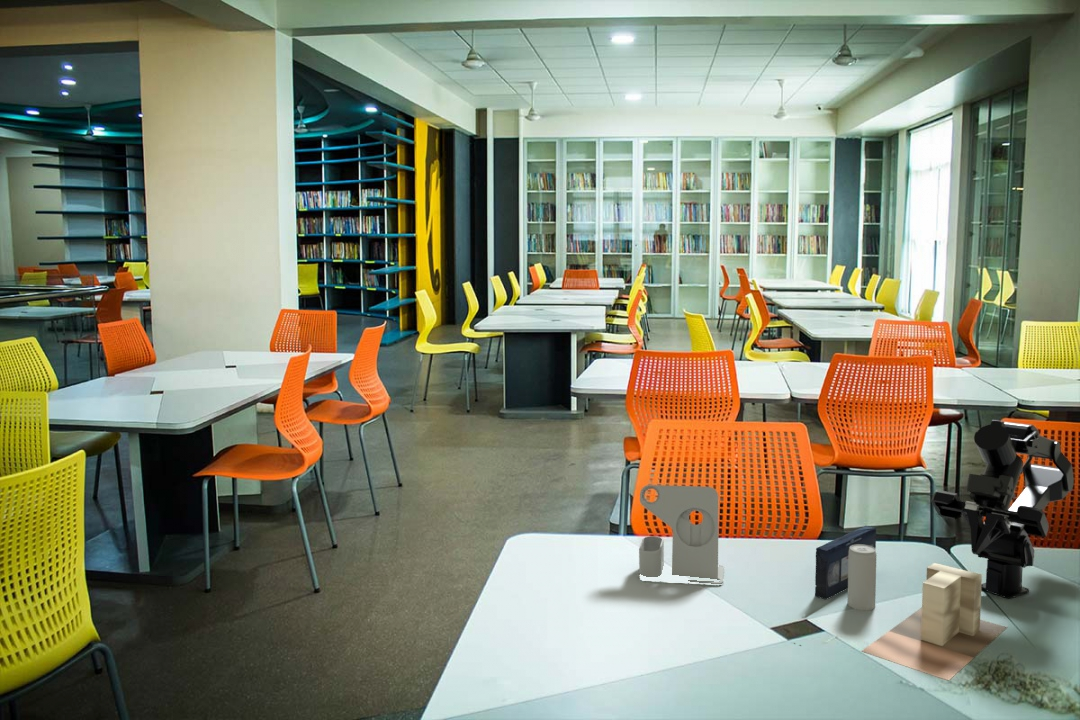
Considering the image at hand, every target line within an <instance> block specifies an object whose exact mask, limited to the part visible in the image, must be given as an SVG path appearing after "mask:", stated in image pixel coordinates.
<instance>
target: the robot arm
mask: <svg viewBox="0 0 1080 720" xmlns="http://www.w3.org/2000/svg"><path fill="white" fill-rule="evenodd" d="M973 440H974V443H975V446H976V449H977V451H978V452H979V455H980V456H981V459H982V461H983V462H984V463H985V464H986V466H985V469H984V471H983V474H974V473H969V474H968V478H967V483H966V487H965V488H966V489H965V491H966V492H969V498H970V500H972V501H968V500H965V501H962V500H961V498H960V496H959V494H958V493H957V492H956V493H955V492H952V491H951V492H950V491H945V490H937V491H935V492H934V493H933V494H932V496H931V500H930V501H931V504H932V506H933V508H934V510H935V511H936V513H937V515H938V516H940V517H941V518H946V519H950V520H958V519H960V518H962V516H963V518H964V519H965V522H966V524H967V526H969V528H970V529H969V530H970V545H971V553H972V554H973V555H976V556H977V557H978V558H982V559H986V562H987V563H986V569H985V570H986V572H985V582H983V583H982V584H981V590H984V591H988V592H990V593H992V594H995V595H998V596H1000V597H1004V598H1006V599H1013V598H1015V597H1019V596H1021V595H1023V594H1027V593H1030V588H1028V587H1025V586H1023V585H1022V584H1023V569H1025V568H1026V567H1033V566H1034V561H1035V560H1034V558H1035V549H1034V547H1033V544H1032V542H1031V539H1030V537H1029V536H1033V537H1039V538H1046V537H1047V536H1048V532H1049V525H1050V524H1049V522H1048V519H1047V517H1046V513H1045V511H1044V510H1045V508H1046V507H1047V505H1048V504H1049V503H1052V502H1057V501H1062V500H1064V499H1065V497H1067V496H1068V494H1069V493H1071V492H1072V491H1073V488H1074V483H1075V482H1074V481H1075V480H1074V478H1075V477H1074V470H1073V465H1072V462H1071V461H1070V460H1069V459H1068V458H1067V457H1066V456H1065V454H1064V453H1063V452H1062V449H1061V443H1060V441H1056V439H1050V438H1049V437H1048V438H1047V437H1045V436H1043V435H1041V434H1040V431H1039V429H1038V428H1037V427H1036V426H1035V425H1034V424H1027V423H1020V422H1011V421H1005V420H1004V421H1003V420H998V419H992V420H991V421H990V424H986V425H983V426H982V427H981V428H979V429H978V430H977V431H976V432H975V433H974V435H973ZM1020 455H1026V456H1027V459H1026V460H1025V462H1024V461H1023V459H1022V457H1021V456H1020ZM1033 458H1039V459H1046V460H1052V463H1053V464H1054V465H1055V466H1051V465H1043V464H1038V463H1037V464H1036V463H1032V460H1033ZM1021 475H1022V476H1023V482H1024V485H1025V486H1024V487H1025V488H1024V489H1023V490H1022V491H1021V493H1020V494H1019V495H1018V496H1017V498H1016V493H1015V491H1016V488H1017V486H1018V482H1019V478H1020V476H1021ZM1015 498H1016V499H1015ZM1012 500H1013V503H1012ZM1014 500H1015V501H1014ZM1011 503H1012V504H1011ZM984 518H985V519H984Z"/></svg>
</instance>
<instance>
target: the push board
mask: <svg viewBox="0 0 1080 720" xmlns="http://www.w3.org/2000/svg"><path fill="white" fill-rule="evenodd" d="M921 623H922V606H921V607H919V608H918V609H917V610H916V611H914V612H913V613H911V614H910V615H909V616H908V617H906V618H905V619H903V620H902V621H901V622H899V623H897V624H896V625H895V626H894V627H893V628H891V629H889V630H888V631H887V632H886V633H884V634H883V635H881V636H880V637H878V638H877V639H876V640H875V641H873V642H872V643H869V645H867V646H866V647H865V648H864V649H862V650H861V652H862V653H865V654H867V655H871V656H874V657H877V658H880V659H883V660H886V661H889V662H892V663H895V664H898V665H901V666H904V667H906V668H910V669H913V670H915V671H919V672H922V673H925V674H928V675H930V676H934V677H935V678H936V677H937V678H940V679H942V680H946V681H950V680H952V678H954V677H955V675H957V674H959V672H960V671H962V670H963V669H964V667H966V666H967V665H968V664H969V663H970V662H972V660H973V659H974V658H976V657H977V656H978V655H979V654H980V653H982V651H983V650H984V649H986V648H987V647H988V646H989V645H990V644H991V643H992V642H994V641H995V640H996V639H997V638H998V637H999V636H1000V635H1001V634H1002V633H1003V632H1004V631H1006V630H1007V629H1008V626H1004V625H1001V624H997V623H994V622H990V621H986V620H983V619H980V630H979V631H978V632H977V633H976V634H975V635H974V636H971V635H967V634H964V633H960V632H959V633H957V634H956V635H955V636H954V637H952V638H951V639H950V640H949V641H948V642H946V643H945V644H944V645H943V646H941V645H937V644H934V643H931V642H928V641H924V640H921Z"/></svg>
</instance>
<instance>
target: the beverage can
mask: <svg viewBox="0 0 1080 720" xmlns="http://www.w3.org/2000/svg"><path fill="white" fill-rule="evenodd" d="M876 586H877V551H876V549H875V548H874V547H872V546H869V545H863V544H856V545H852V546H850V547H849V558H848V589H847V606H849V607H850V608H852V609H855V610H858V611H872V610H874V609H875V608H876V596H877V595H876V593H877V592H876V588H877V587H876Z"/></svg>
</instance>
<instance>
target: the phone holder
mask: <svg viewBox="0 0 1080 720" xmlns="http://www.w3.org/2000/svg"><path fill="white" fill-rule="evenodd" d="M651 489H652V490H654V491H656V493H657V497H656V498H657V499H656V500H655V501H654V500H653V501H648V500H647V499H646V493H647V491H648V490H651ZM719 499H720V497H719V494H718V491H717V490H716V488H714V487H711V486H700V485H699V486H698V485H697V486H696V485H670V484H669V485H667V484H666V485H665V484H663V485H662V484H647V485H644V486H643V487H642V488H641V490H640V492H639V503H640V505H642V506H643V507H644V509H646V510H647V511H649V512H650V513H652V514H653V515H654V516H655V517H657V518H658V519H659V520H660V521H661V522H662V523H664V524H666V525H667V526H668V527H670V528H671V530H672V547H671V548H672V553H671V555H672V556H671V562H672V575H679V576H690V577H699V578H710V579H717V580H720V581H719V582H714V581H697V580H688V581H690V582H699V583H711V584H722V583H723V584H724V581H723V579H725V577H724V576H725V567H724V566H723V565H721V564H719V519H720V518H719V517H720V516H719V514H720V513H719V512H720V511H719V510H720V509H719V508H720V506H719V503H720V502H719ZM693 512H699V513H700V514H701V515H702V521H701V522H700V523H697V524H694V523H692V522H691V521H690V515H691V514H692V513H693ZM664 543H665V540H664V539H663V538H662V537H660V536H652V535H651V536H645V537H643V538H642V539H641V543H640V545H639V548H638V560H639V561H638V564H639V566H638V568H639V569H638V570H639V571H638V572H639V573H640V574H641V575H643V576H646V577H658V576H660V575H661V574H662V570H663V566H664V562H665V558H664V557H665V547H664ZM718 565H719V567H718ZM639 573H638V574H639Z"/></svg>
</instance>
